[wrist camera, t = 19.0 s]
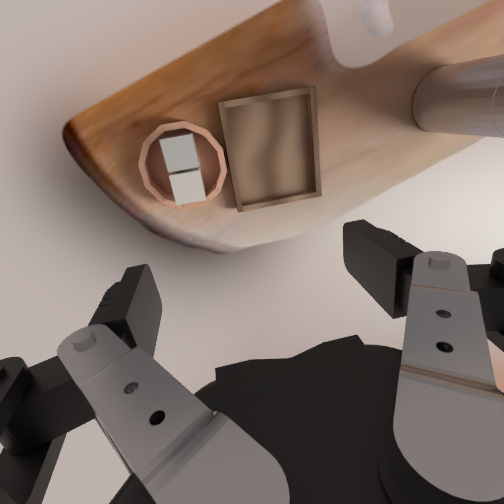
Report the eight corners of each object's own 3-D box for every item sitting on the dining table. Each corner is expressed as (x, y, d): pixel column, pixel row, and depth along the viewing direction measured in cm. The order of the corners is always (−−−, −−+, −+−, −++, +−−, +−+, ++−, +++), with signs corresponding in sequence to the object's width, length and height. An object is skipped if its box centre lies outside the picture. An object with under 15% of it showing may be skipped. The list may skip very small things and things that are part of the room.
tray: (311, 86, 43) (315, 85, 41) (317, 193, 50) (321, 195, 48) (217, 102, 42) (218, 102, 40) (236, 209, 49) (238, 212, 47)
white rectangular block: (199, 163, 44) (199, 170, 39) (205, 190, 46) (206, 200, 41) (172, 168, 44) (168, 175, 39) (179, 194, 46) (176, 205, 40)
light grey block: (192, 131, 42) (191, 134, 37) (199, 160, 44) (199, 166, 39) (164, 136, 42) (159, 139, 37) (172, 165, 44) (168, 172, 38)
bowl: (215, 115, 42) (216, 115, 39) (230, 194, 48) (232, 200, 44) (132, 129, 42) (127, 130, 38) (157, 209, 47) (154, 215, 44)
